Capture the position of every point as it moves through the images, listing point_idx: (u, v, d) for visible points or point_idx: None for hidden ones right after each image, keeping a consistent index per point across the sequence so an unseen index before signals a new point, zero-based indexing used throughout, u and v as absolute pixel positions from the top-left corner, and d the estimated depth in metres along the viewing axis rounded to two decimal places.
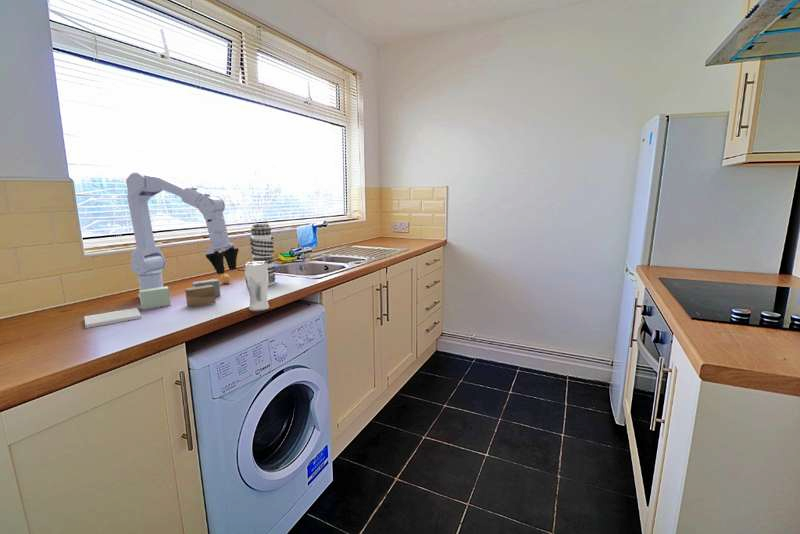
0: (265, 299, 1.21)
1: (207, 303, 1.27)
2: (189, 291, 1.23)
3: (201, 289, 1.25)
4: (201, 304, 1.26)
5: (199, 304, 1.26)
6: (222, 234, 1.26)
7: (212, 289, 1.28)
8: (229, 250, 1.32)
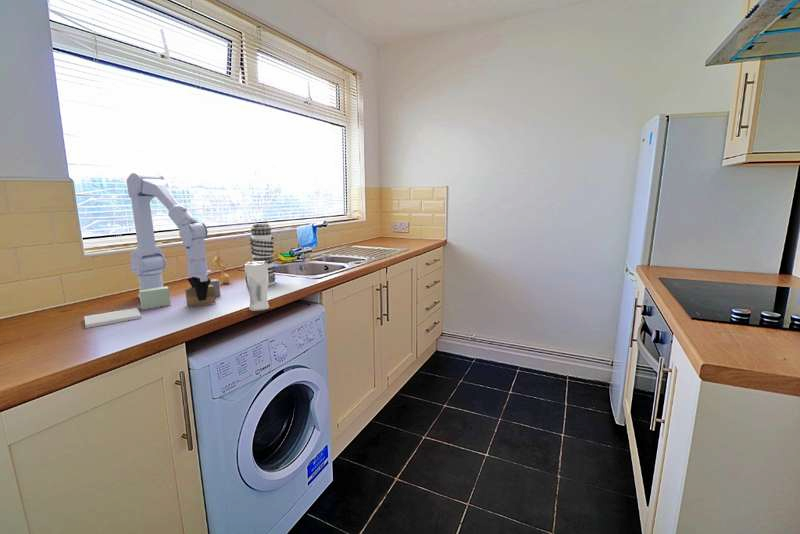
0: (265, 299, 1.21)
1: (207, 303, 1.27)
2: (189, 291, 1.23)
3: None
4: (201, 304, 1.26)
5: (199, 304, 1.26)
6: (205, 261, 1.25)
7: (212, 289, 1.28)
8: None
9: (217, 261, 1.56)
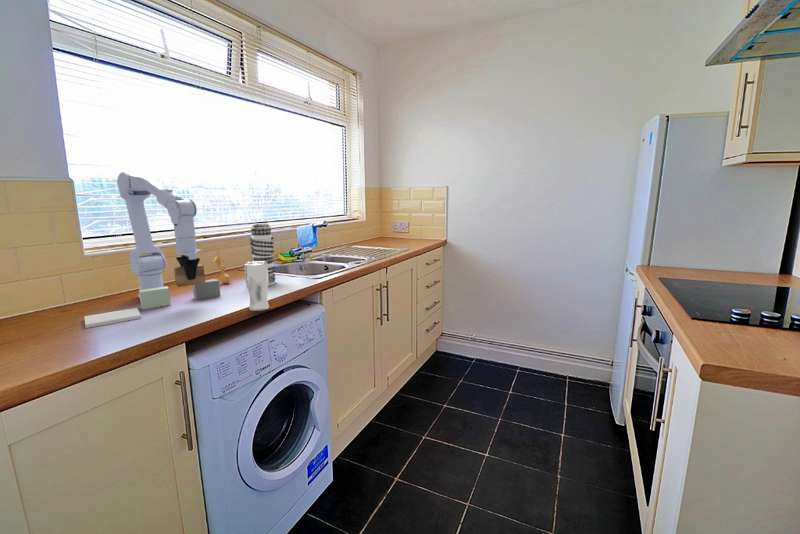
0: (265, 299, 1.21)
1: (196, 282, 1.24)
2: (178, 269, 1.20)
3: None
4: (190, 283, 1.23)
5: (188, 283, 1.23)
6: (194, 239, 1.22)
7: (201, 268, 1.25)
8: None
9: (217, 261, 1.56)
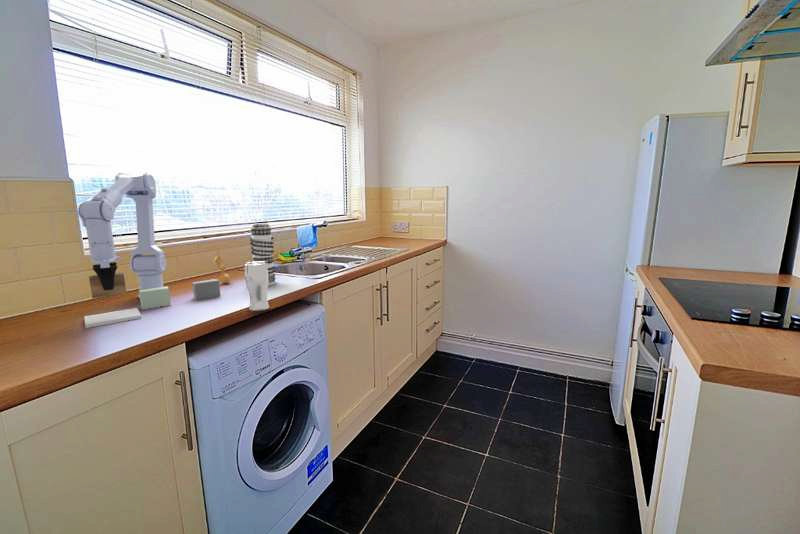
0: (265, 299, 1.21)
1: (115, 293, 1.11)
2: (91, 279, 1.07)
3: None
4: (107, 294, 1.10)
5: (105, 294, 1.10)
6: (111, 245, 1.09)
7: (121, 277, 1.12)
8: None
9: (217, 261, 1.56)
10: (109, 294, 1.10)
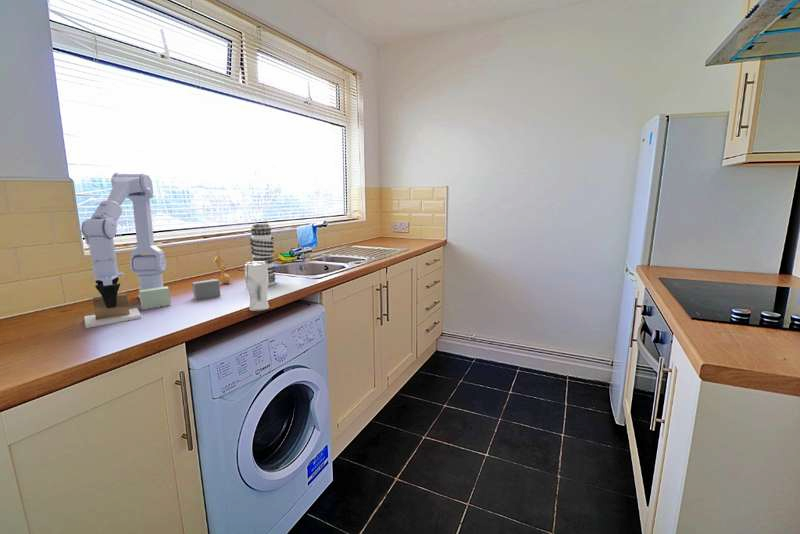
0: (265, 299, 1.21)
1: (119, 314, 1.12)
2: (95, 301, 1.08)
3: None
4: (111, 315, 1.11)
5: (108, 315, 1.11)
6: (114, 262, 1.10)
7: (125, 298, 1.13)
8: None
9: (217, 261, 1.56)
10: (112, 315, 1.12)
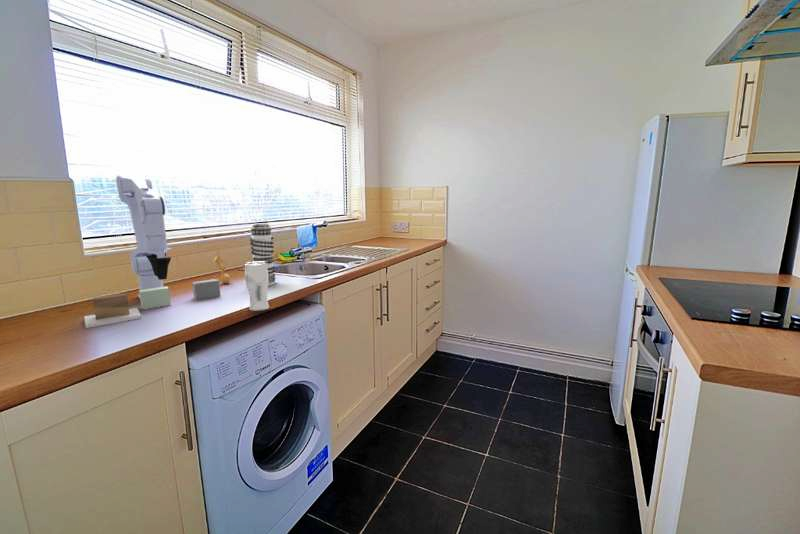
0: (265, 299, 1.21)
1: (119, 314, 1.12)
2: (95, 301, 1.08)
3: (110, 298, 1.11)
4: (111, 315, 1.11)
5: (108, 315, 1.11)
6: (164, 238, 1.20)
7: (125, 298, 1.13)
8: None
9: (217, 261, 1.56)
10: (112, 315, 1.12)
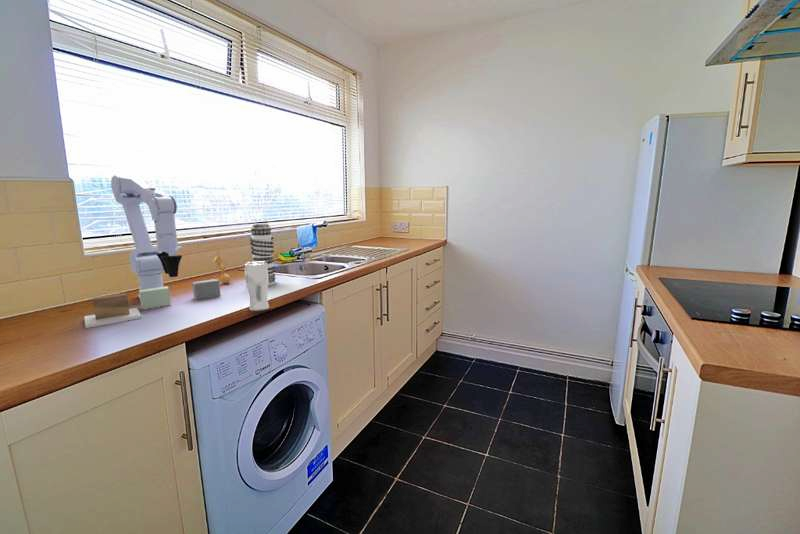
0: (265, 299, 1.21)
1: (119, 314, 1.12)
2: (95, 301, 1.08)
3: (110, 298, 1.11)
4: (111, 315, 1.11)
5: (108, 315, 1.11)
6: (175, 236, 1.23)
7: (125, 298, 1.13)
8: (167, 253, 1.27)
9: (217, 261, 1.56)
10: (112, 315, 1.12)
